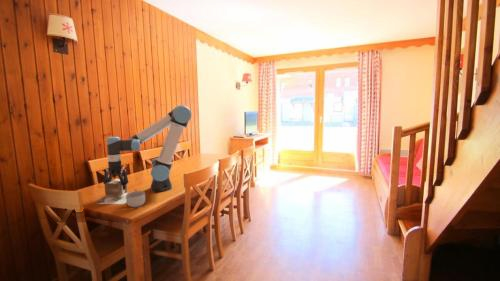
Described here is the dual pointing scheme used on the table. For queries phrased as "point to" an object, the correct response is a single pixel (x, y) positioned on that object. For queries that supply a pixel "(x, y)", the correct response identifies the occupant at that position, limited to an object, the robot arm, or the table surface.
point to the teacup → (135, 198)
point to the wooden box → (114, 189)
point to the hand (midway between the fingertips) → (116, 194)
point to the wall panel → (112, 200)
